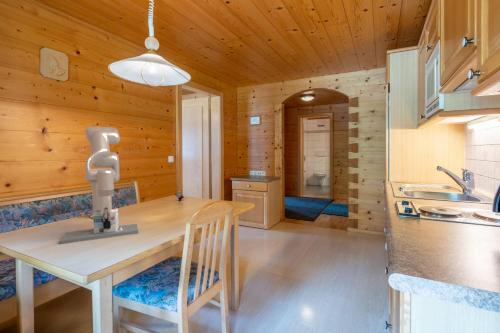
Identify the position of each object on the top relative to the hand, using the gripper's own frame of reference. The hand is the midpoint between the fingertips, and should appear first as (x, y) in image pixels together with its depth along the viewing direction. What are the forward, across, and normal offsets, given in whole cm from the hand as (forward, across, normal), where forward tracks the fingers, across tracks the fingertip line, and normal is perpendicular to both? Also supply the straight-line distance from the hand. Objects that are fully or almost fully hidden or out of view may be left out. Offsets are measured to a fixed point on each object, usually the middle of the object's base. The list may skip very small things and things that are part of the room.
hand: (107, 226), depth 139 cm
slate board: (+4, 0, -3) cm, 5 cm away
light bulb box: (+3, 0, 0) cm, 3 cm away
